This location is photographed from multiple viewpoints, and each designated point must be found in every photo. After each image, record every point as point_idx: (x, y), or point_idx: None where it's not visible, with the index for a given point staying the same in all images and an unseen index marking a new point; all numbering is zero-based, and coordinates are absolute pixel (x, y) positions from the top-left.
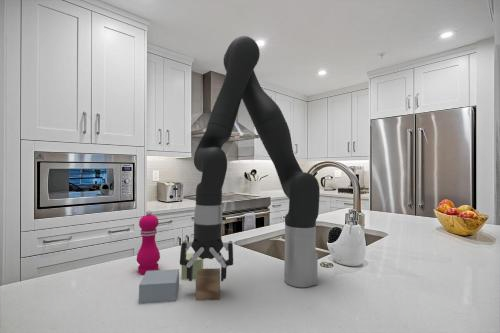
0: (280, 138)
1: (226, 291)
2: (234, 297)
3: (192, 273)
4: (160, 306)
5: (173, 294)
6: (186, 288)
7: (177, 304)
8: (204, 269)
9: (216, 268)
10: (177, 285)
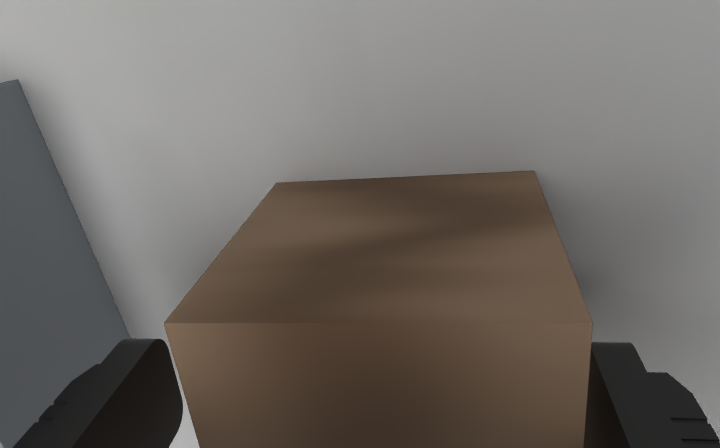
0: None
1: (619, 227)
2: (702, 352)
3: (130, 409)
4: None
5: None
6: (136, 156)
7: (185, 423)
8: (280, 358)
9: (512, 326)
10: (41, 282)
